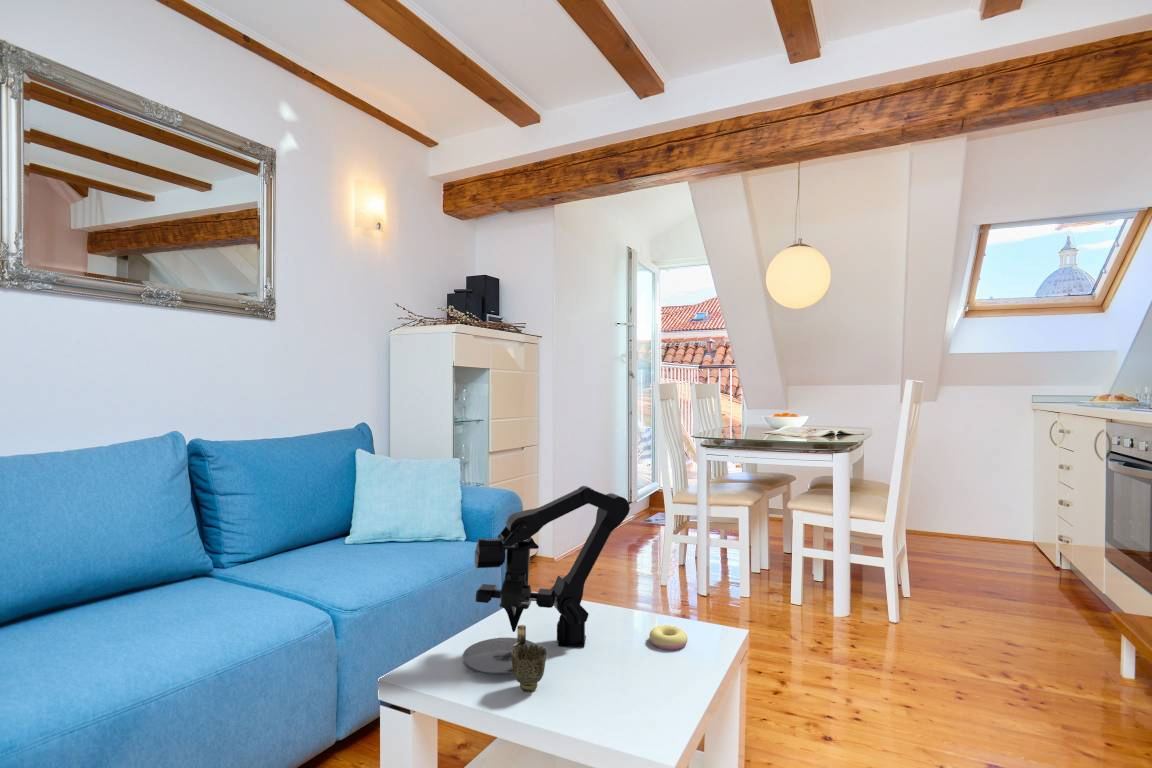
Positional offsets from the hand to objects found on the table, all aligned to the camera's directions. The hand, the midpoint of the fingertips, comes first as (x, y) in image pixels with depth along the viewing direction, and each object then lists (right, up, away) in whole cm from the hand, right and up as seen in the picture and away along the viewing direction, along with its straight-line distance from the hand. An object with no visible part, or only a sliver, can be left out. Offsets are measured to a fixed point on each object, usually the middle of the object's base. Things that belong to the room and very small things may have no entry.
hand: (514, 631), depth 146 cm
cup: (+5, -4, -20) cm, 21 cm away
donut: (+38, -5, +4) cm, 39 cm away
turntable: (-2, -3, -7) cm, 8 cm away
